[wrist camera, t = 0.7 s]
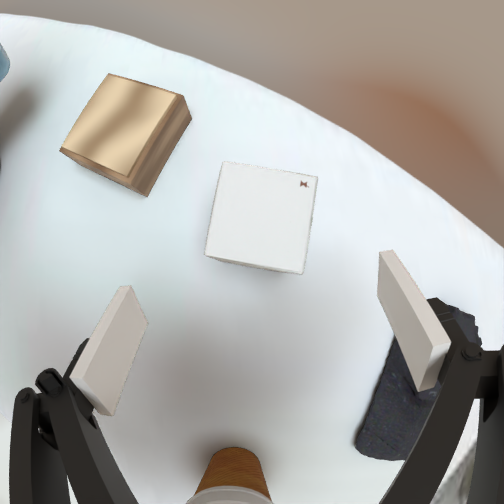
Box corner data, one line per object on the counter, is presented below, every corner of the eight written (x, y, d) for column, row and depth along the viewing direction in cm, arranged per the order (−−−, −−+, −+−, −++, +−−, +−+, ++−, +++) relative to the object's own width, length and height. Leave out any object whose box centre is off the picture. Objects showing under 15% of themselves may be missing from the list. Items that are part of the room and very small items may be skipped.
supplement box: (231, 197, 35) (222, 156, 22) (297, 209, 35) (322, 175, 22) (218, 262, 34) (200, 255, 22) (285, 275, 34) (306, 275, 22)
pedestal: (80, 165, 35) (56, 149, 29) (123, 95, 36) (106, 70, 29) (147, 197, 35) (128, 182, 28) (191, 118, 35) (182, 92, 29)
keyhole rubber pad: (331, 442, 33) (340, 461, 28) (410, 286, 35) (430, 287, 30) (415, 461, 33) (429, 476, 28) (484, 326, 34) (505, 330, 30)
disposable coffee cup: (282, 481, 32) (291, 542, 20) (213, 496, 32) (203, 556, 20) (259, 428, 33) (264, 487, 21) (186, 445, 33) (164, 502, 21)
